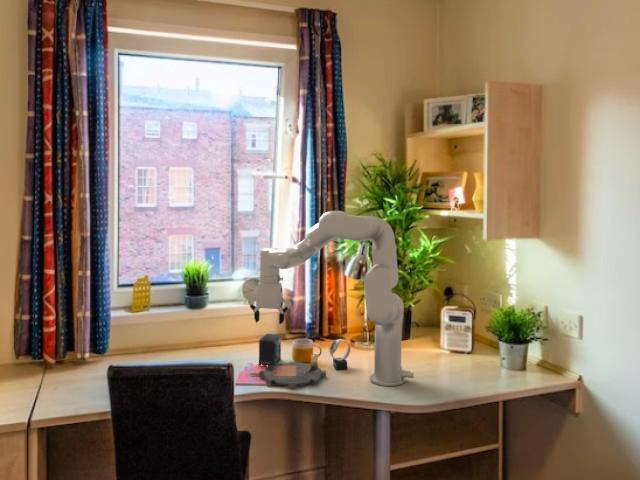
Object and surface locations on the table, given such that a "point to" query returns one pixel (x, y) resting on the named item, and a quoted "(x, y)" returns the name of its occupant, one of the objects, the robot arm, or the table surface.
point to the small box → (270, 349)
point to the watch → (339, 362)
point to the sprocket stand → (254, 373)
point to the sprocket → (293, 373)
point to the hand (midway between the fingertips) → (269, 322)
